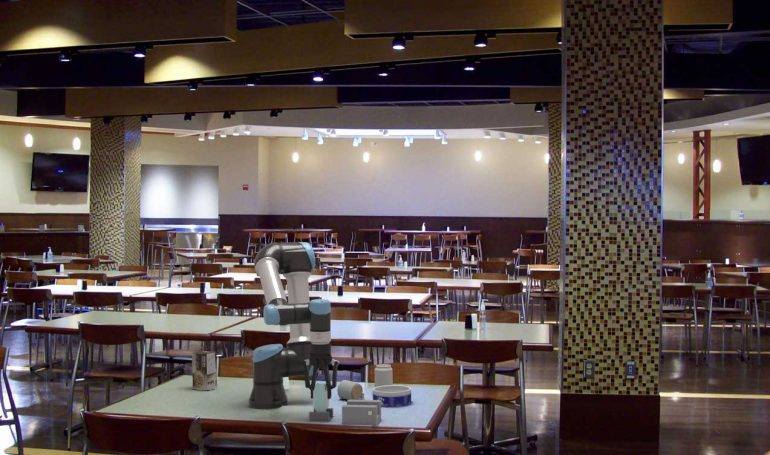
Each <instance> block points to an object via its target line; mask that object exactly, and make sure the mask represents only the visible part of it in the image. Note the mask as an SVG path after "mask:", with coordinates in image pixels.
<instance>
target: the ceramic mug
mask: <svg viewBox="0 0 770 455" xmlns="http://www.w3.org/2000/svg"><path fill="white" fill-rule="evenodd" d="M337 396H338V397H339V399H341V400H346V401H348V400H361V399H362V398H365V393H364V392H363V386H362V384H360V383H358V382H355V381H352V380H348V379H343V380H341V381H340V382H339V383H338V386H337Z"/></svg>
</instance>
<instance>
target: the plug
mask: <svg viewBox="0 0 770 455" xmlns="http://www.w3.org/2000/svg"><path fill="white" fill-rule="evenodd" d="M326 389H327V386H326V382H325V383H324V382H322V383H320V382H319V383H317V382H316V384H315V410H316V412H326V409H325V390H326Z"/></svg>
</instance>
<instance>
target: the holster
mask: <svg viewBox="0 0 770 455" xmlns="http://www.w3.org/2000/svg"><path fill="white" fill-rule="evenodd" d="M308 414H309V415H308V416H309V417H308V420H307V422H309V423H310V422H311V423H312V422H313V423H314V422H317V423H318V422H319V423H322V422H323V423H330V422H331V421H332V420H333V419H334V418H335V417H336V415H334V408H333V407H328V408H327V409H326V412H316V410H315V408H313V411H309V413H308Z"/></svg>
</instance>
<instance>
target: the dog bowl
mask: <svg viewBox="0 0 770 455" xmlns="http://www.w3.org/2000/svg"><path fill="white" fill-rule="evenodd" d="M372 400H381V408H401V407H407V406H409V405H411V404H412V387H411V386H407V385H402V384H401V385H400V384H393V385H384V386H378V387H375V386H374V387H373V388H372Z"/></svg>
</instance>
